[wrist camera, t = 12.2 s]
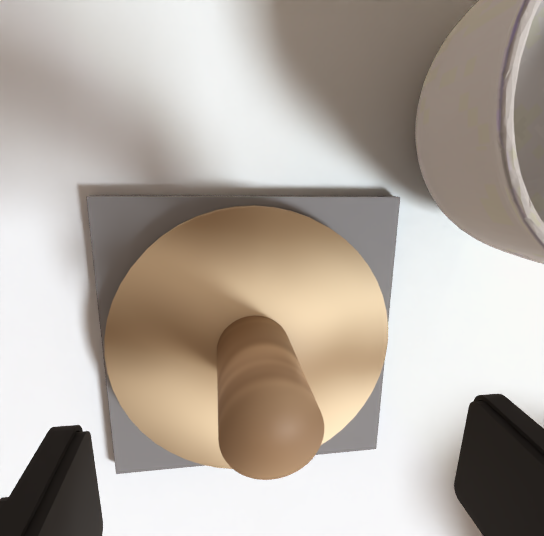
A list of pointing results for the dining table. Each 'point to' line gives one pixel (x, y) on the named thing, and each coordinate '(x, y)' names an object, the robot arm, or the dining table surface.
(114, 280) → the plate
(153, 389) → the lid
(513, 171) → the teacup
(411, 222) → the dining table surface
